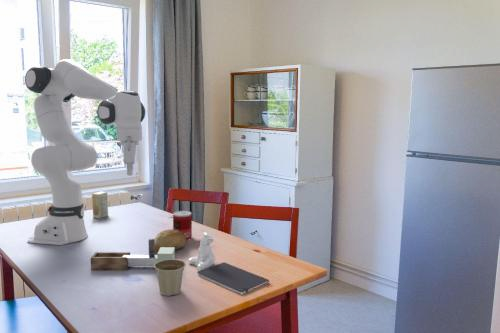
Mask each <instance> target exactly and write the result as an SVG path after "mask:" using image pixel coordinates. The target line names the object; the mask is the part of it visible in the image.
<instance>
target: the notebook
mask: <svg viewBox="0 0 500 333" xmlns="http://www.w3.org/2000/svg"><path fill="white" fill-rule="evenodd" d="M197 275H198V276H199V277H200V276H201V277H200V278H202V279H205V280H207V281H209V280H210V281H209V282H211V281H212V283H214V282H215V283H214V284H216V283H217V284H216V285H218V284H219V285H218V286H220V285H221V287H223V286H224V287H223V288H225V287H226V288H225V289H227V288H228V289H227V290H229V289H231V290H233V291H232V292H234V291H235V292H234V293H236V292H238V293H244V292H248V291H249V290H251V289H253V288H255V287H257V286H260V285H262V284H264V283H267V282H269V283H270V279H267V278H266V277H262V276H260V275H258V274H255V273H252V272H250V271H247V270H245V269H243V268H240V267H237V266H235V265H232V264H229V263H228V262H226V261H225V262H221V263H218V264H215V265H212V266H210V267H209V268H206V269H204V270H201V271H198V270H197ZM267 284H268V283H267ZM262 286H263V285H262ZM260 287H261V286H260ZM231 290H230V291H231ZM253 290H254V289H253ZM251 291H252V290H251ZM249 292H250V291H249ZM249 292H248V293H249ZM238 293H237V294H238Z"/></svg>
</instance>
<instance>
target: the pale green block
mask: <svg viewBox="0 0 500 333" xmlns="http://www.w3.org/2000/svg"><path fill="white" fill-rule="evenodd" d="M156 255H157V262H159V261H162V260H168V259H176V249H175V247H160V249H159V251H158V253H156Z"/></svg>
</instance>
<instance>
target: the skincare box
mask: <svg viewBox="0 0 500 333" xmlns="http://www.w3.org/2000/svg"><path fill="white" fill-rule="evenodd" d="M91 196H92V197H91V198H92V199H91V200H92V217H93V219H103V218H105V217H108V216H109V206H108V192H107V191H103V190H102V191H97V192H94V193H92V194H91Z"/></svg>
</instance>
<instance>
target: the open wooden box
mask: <svg viewBox="0 0 500 333" xmlns="http://www.w3.org/2000/svg"><path fill="white" fill-rule="evenodd" d="M123 255H131V252H130V251H129V252H127V251H125V252H124V251H123V252H122V251H121V252H119V251H117V252H116V251H111V252H110V251H107V252H106V251H105V252H102V251H99V252H98V251H97V252H96V251H95V252H94V253H93V254H92V256H91V257H90V271H128V269H129V268H130V266H127V257H123Z"/></svg>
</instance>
